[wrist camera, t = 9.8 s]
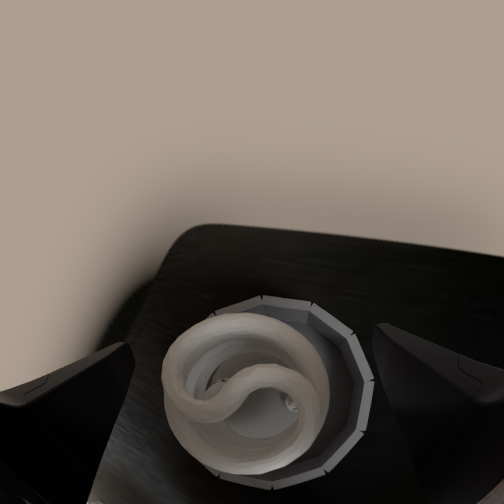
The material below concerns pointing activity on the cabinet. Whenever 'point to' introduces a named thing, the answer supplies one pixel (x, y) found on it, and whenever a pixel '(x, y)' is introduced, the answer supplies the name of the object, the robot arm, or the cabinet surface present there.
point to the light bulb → (244, 393)
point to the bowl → (340, 386)
